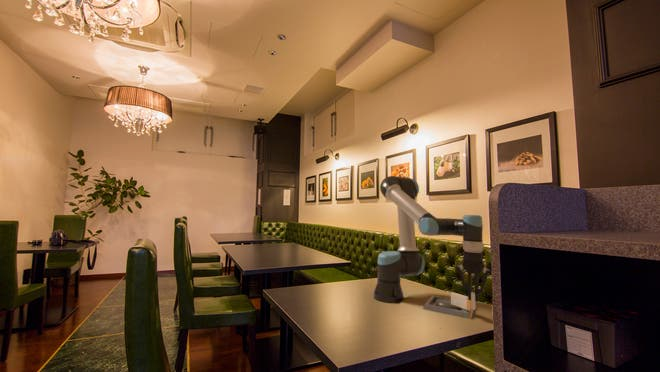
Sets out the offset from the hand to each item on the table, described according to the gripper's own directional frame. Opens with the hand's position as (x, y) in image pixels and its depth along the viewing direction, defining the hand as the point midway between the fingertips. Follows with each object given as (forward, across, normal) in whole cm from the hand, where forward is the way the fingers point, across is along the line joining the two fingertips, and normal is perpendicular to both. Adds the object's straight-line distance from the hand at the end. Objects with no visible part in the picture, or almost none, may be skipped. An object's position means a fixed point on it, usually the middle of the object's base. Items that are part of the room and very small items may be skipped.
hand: (473, 308), depth 119 cm
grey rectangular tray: (+5, -11, +8) cm, 14 cm away
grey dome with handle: (+4, -8, +7) cm, 11 cm away
